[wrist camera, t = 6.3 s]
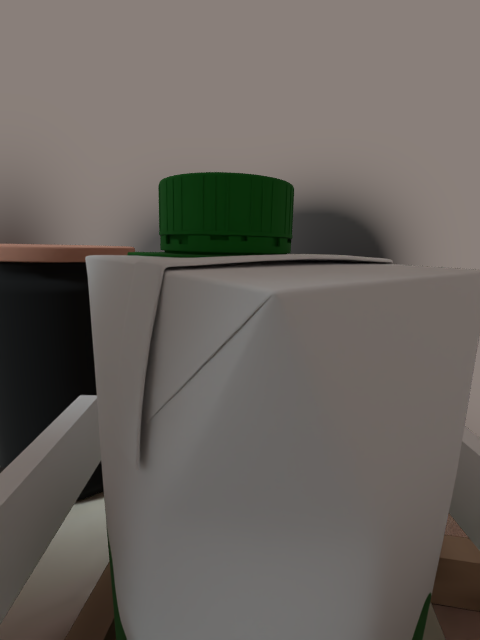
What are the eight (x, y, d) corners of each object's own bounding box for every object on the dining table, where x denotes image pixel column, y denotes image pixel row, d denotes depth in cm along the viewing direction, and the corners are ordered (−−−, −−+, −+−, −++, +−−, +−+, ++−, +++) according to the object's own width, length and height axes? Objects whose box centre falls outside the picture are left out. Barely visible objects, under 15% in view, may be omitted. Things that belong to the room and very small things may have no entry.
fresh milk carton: (259, 568, 19) (276, 206, 14) (423, 762, 12) (560, 175, 7) (100, 695, 13) (46, 176, 9) (232, 1188, 6) (297, -61, 2)
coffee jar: (64, 422, 33) (44, 244, 29) (163, 432, 32) (157, 247, 28) (-35, 502, 23) (-88, 242, 19) (105, 521, 21) (82, 247, 17)
